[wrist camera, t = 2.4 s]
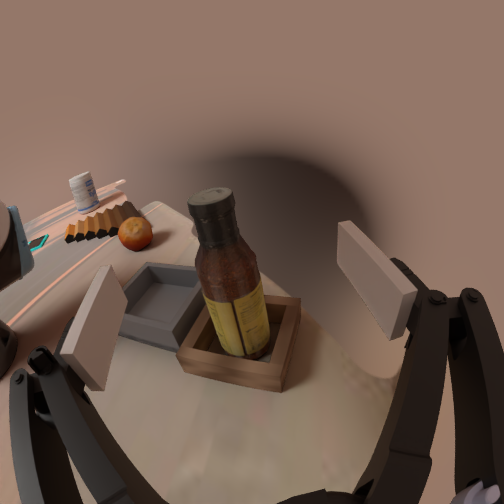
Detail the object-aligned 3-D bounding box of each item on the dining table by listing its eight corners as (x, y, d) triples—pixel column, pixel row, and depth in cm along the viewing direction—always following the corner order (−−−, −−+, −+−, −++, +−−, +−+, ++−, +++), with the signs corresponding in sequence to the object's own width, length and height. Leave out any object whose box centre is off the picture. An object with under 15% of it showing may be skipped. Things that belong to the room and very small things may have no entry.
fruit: (138, 229, 65) (139, 206, 59) (157, 248, 64) (159, 226, 58) (113, 244, 60) (110, 221, 54) (131, 265, 59) (130, 243, 53)
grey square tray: (113, 333, 37) (100, 311, 35) (154, 282, 47) (146, 262, 45) (182, 354, 33) (171, 331, 31) (219, 291, 43) (213, 268, 41)
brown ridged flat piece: (148, 231, 68) (132, 208, 87) (145, 219, 66) (130, 199, 85) (65, 267, 58) (68, 234, 76) (59, 256, 56) (64, 226, 75)
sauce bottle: (269, 324, 36) (251, 177, 26) (273, 361, 31) (255, 200, 20) (221, 329, 36) (184, 187, 26) (219, 366, 31) (170, 213, 20)
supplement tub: (99, 209, 91) (88, 173, 84) (77, 217, 88) (66, 182, 81) (101, 202, 99) (91, 169, 91) (81, 210, 96) (71, 177, 88)
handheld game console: (19, 249, 75) (17, 246, 74) (49, 236, 79) (48, 232, 78) (10, 261, 67) (9, 258, 66) (42, 248, 71) (40, 244, 70)
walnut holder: (184, 371, 30) (175, 355, 29) (219, 307, 40) (214, 289, 38) (281, 392, 27) (280, 376, 25) (300, 317, 36) (300, 298, 35)
